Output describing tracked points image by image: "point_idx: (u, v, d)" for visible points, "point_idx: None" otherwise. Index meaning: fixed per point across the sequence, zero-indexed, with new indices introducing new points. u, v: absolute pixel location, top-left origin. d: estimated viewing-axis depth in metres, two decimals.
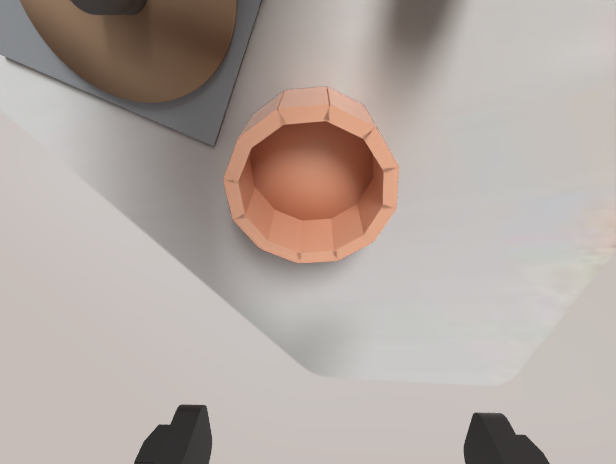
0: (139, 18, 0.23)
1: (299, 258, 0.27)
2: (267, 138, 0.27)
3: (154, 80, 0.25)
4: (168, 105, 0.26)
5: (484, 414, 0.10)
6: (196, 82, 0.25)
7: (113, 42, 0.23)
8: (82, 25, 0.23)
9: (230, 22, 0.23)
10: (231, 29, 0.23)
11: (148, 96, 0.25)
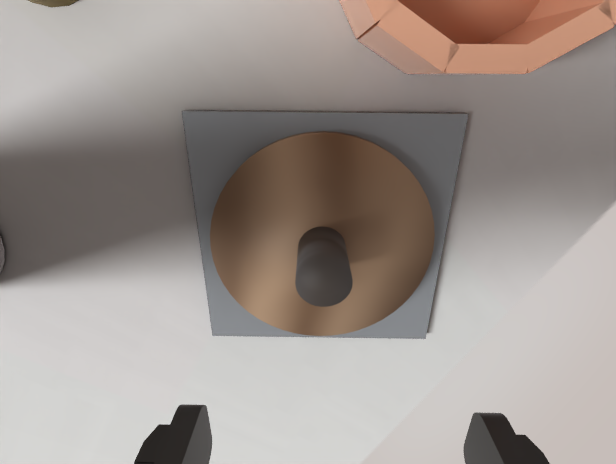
0: (343, 230, 0.21)
1: None
2: None
3: (402, 205, 0.20)
4: (427, 185, 0.21)
5: (484, 414, 0.10)
6: (386, 158, 0.19)
7: (376, 250, 0.22)
8: (371, 278, 0.22)
9: (305, 138, 0.19)
10: (312, 135, 0.19)
11: (423, 208, 0.20)
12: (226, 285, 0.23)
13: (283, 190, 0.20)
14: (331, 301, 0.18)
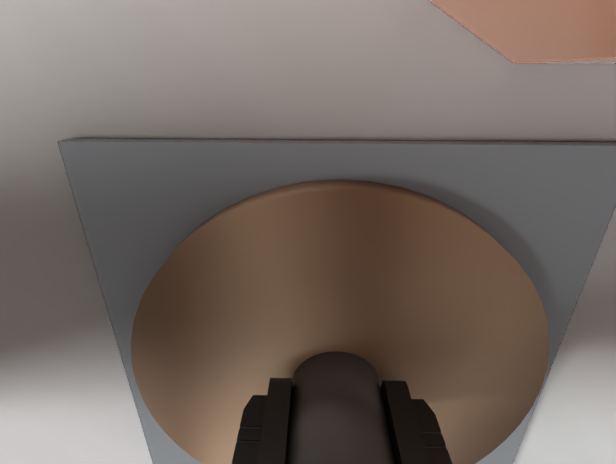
0: (375, 357, 0.11)
1: None
2: None
3: (491, 319, 0.11)
4: (534, 274, 0.11)
5: (388, 381, 0.11)
6: (470, 236, 0.09)
7: (435, 387, 0.12)
8: None
9: (304, 198, 0.09)
10: (317, 192, 0.09)
11: (531, 323, 0.11)
12: (170, 434, 0.13)
13: (261, 292, 0.10)
14: None
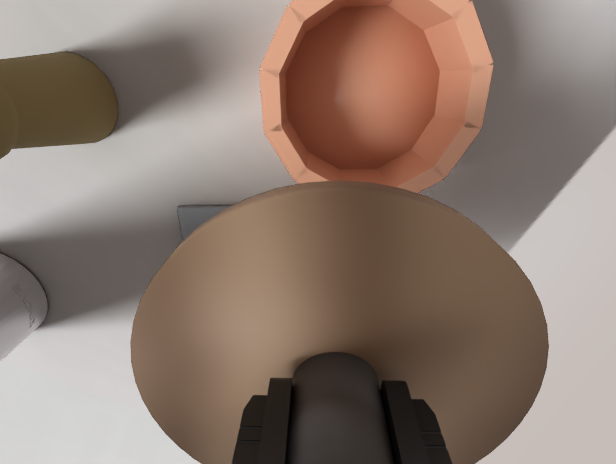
0: (375, 358, 0.11)
1: (483, 65, 0.18)
2: (349, 158, 0.25)
3: (490, 319, 0.11)
4: None
5: (388, 381, 0.11)
6: (469, 237, 0.09)
7: (434, 388, 0.12)
8: None
9: (303, 199, 0.09)
10: (316, 192, 0.09)
11: (530, 323, 0.11)
12: (170, 434, 0.13)
13: (261, 293, 0.10)
14: None
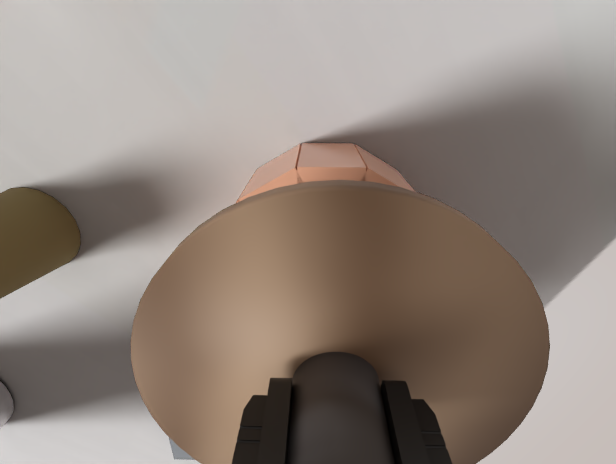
0: (375, 358, 0.11)
1: None
2: None
3: (491, 319, 0.11)
4: None
5: (388, 381, 0.11)
6: (470, 237, 0.09)
7: (435, 388, 0.12)
8: None
9: (303, 198, 0.09)
10: (317, 192, 0.09)
11: (531, 323, 0.11)
12: (170, 434, 0.13)
13: (261, 292, 0.10)
14: None
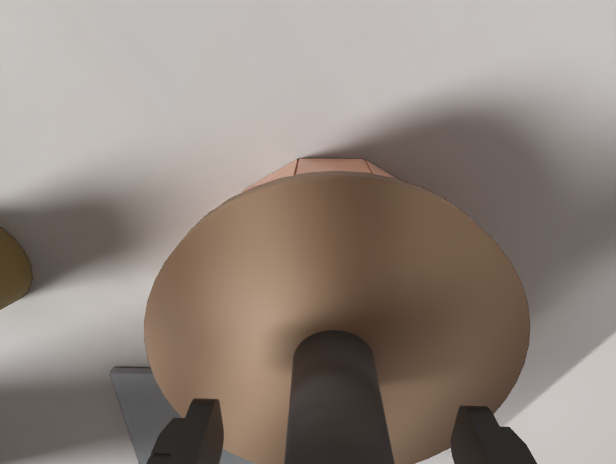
0: (370, 336, 0.12)
1: None
2: None
3: (475, 299, 0.11)
4: None
5: (469, 407, 0.10)
6: (454, 222, 0.10)
7: (426, 364, 0.13)
8: (415, 404, 0.14)
9: (304, 187, 0.10)
10: (316, 181, 0.10)
11: (512, 303, 0.12)
12: (179, 410, 0.14)
13: (265, 274, 0.11)
14: None
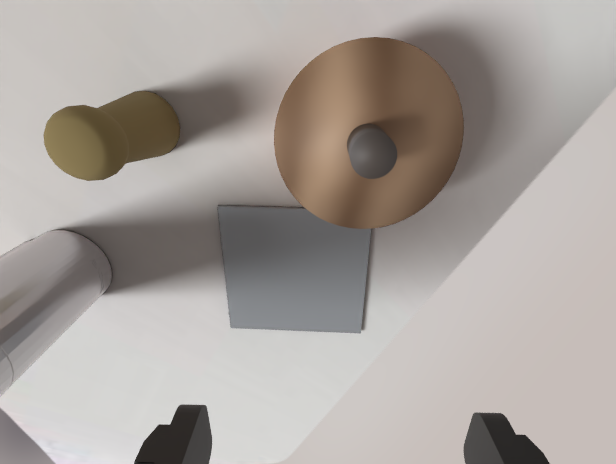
0: (386, 127, 0.25)
1: None
2: None
3: (436, 103, 0.24)
4: (353, 246, 0.37)
5: (484, 414, 0.10)
6: (425, 59, 0.23)
7: (413, 146, 0.26)
8: (407, 172, 0.26)
9: (359, 41, 0.23)
10: (364, 38, 0.23)
11: (454, 106, 0.24)
12: (284, 179, 0.27)
13: (338, 89, 0.24)
14: (378, 173, 0.23)
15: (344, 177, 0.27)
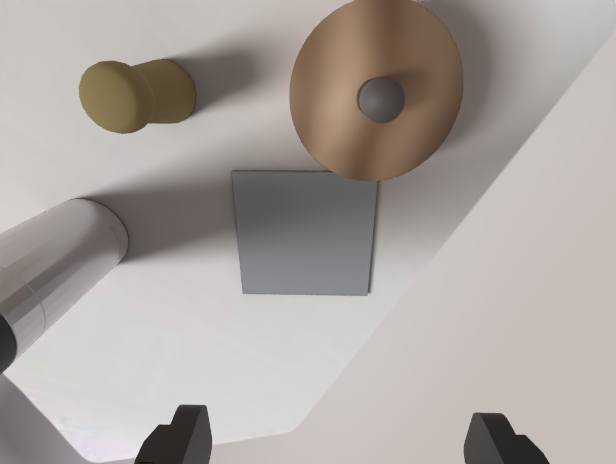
0: None
1: None
2: None
3: (438, 58, 0.27)
4: (360, 208, 0.39)
5: (484, 414, 0.10)
6: (428, 16, 0.26)
7: (417, 98, 0.28)
8: (412, 125, 0.29)
9: None
10: None
11: (454, 60, 0.27)
12: (299, 133, 0.29)
13: (348, 45, 0.26)
14: (388, 118, 0.25)
15: (354, 130, 0.29)
